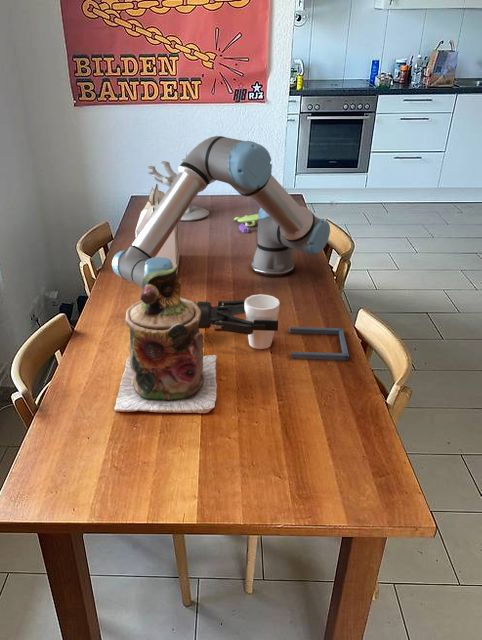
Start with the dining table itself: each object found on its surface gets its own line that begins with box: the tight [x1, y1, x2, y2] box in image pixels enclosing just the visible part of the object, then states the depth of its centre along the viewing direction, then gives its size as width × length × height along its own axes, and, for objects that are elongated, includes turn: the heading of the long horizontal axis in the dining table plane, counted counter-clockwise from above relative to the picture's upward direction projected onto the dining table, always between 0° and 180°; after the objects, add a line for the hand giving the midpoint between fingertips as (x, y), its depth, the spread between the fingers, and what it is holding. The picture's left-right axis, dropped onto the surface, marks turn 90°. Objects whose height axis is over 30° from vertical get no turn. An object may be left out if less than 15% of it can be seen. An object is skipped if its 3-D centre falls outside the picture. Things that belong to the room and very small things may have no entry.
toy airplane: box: [233, 213, 259, 234], centre depth 246 cm, size 18×27×6 cm
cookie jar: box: [114, 264, 218, 414], centre depth 138 cm, size 25×25×32 cm
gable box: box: [135, 183, 180, 274], centre depth 205 cm, size 22×13×28 cm, turn 179°
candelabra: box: [147, 152, 217, 222], centre depth 255 cm, size 34×35×27 cm
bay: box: [289, 326, 350, 361], centre depth 162 cm, size 15×15×2 cm
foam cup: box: [244, 293, 281, 350], centre depth 161 cm, size 10×9×13 cm
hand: (277, 317), depth 159 cm, fingers closed on foam cup, 9 cm apart
